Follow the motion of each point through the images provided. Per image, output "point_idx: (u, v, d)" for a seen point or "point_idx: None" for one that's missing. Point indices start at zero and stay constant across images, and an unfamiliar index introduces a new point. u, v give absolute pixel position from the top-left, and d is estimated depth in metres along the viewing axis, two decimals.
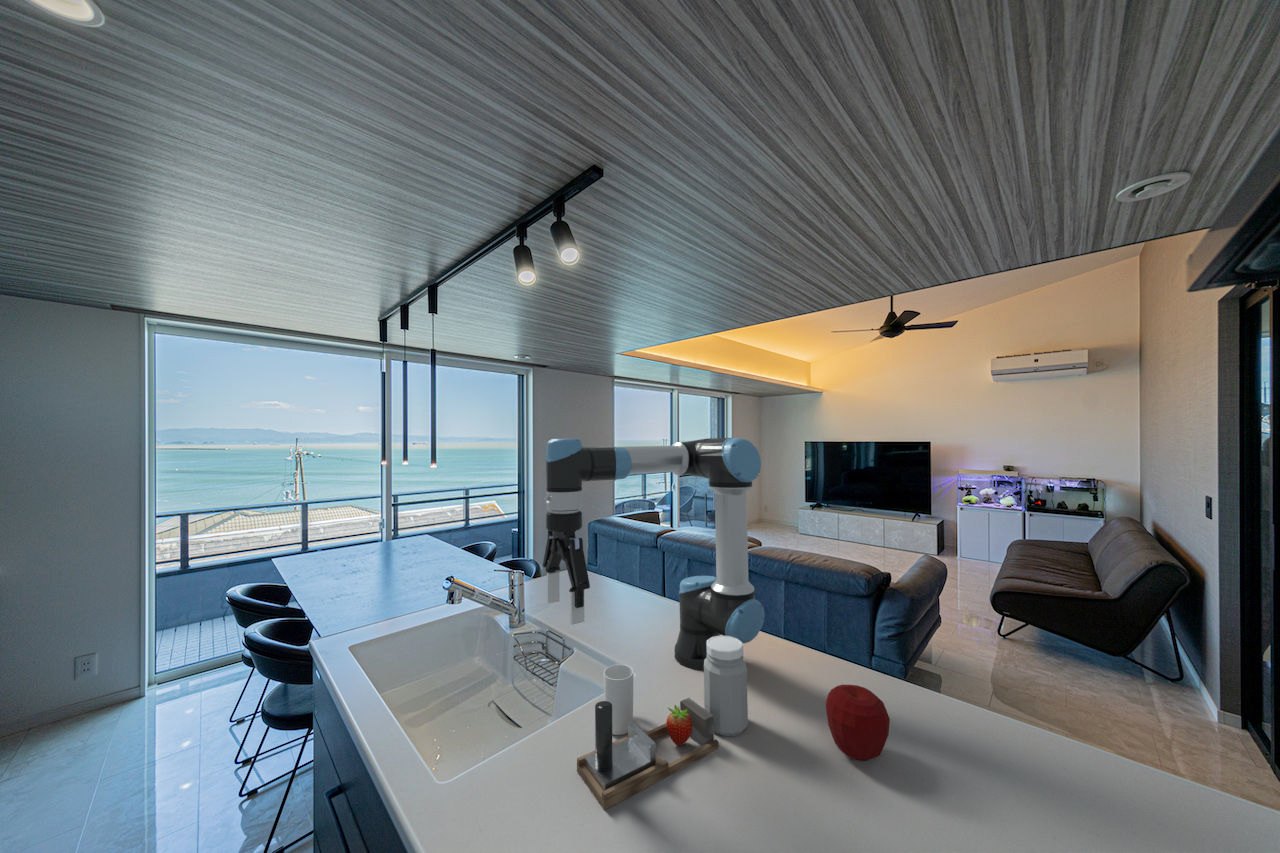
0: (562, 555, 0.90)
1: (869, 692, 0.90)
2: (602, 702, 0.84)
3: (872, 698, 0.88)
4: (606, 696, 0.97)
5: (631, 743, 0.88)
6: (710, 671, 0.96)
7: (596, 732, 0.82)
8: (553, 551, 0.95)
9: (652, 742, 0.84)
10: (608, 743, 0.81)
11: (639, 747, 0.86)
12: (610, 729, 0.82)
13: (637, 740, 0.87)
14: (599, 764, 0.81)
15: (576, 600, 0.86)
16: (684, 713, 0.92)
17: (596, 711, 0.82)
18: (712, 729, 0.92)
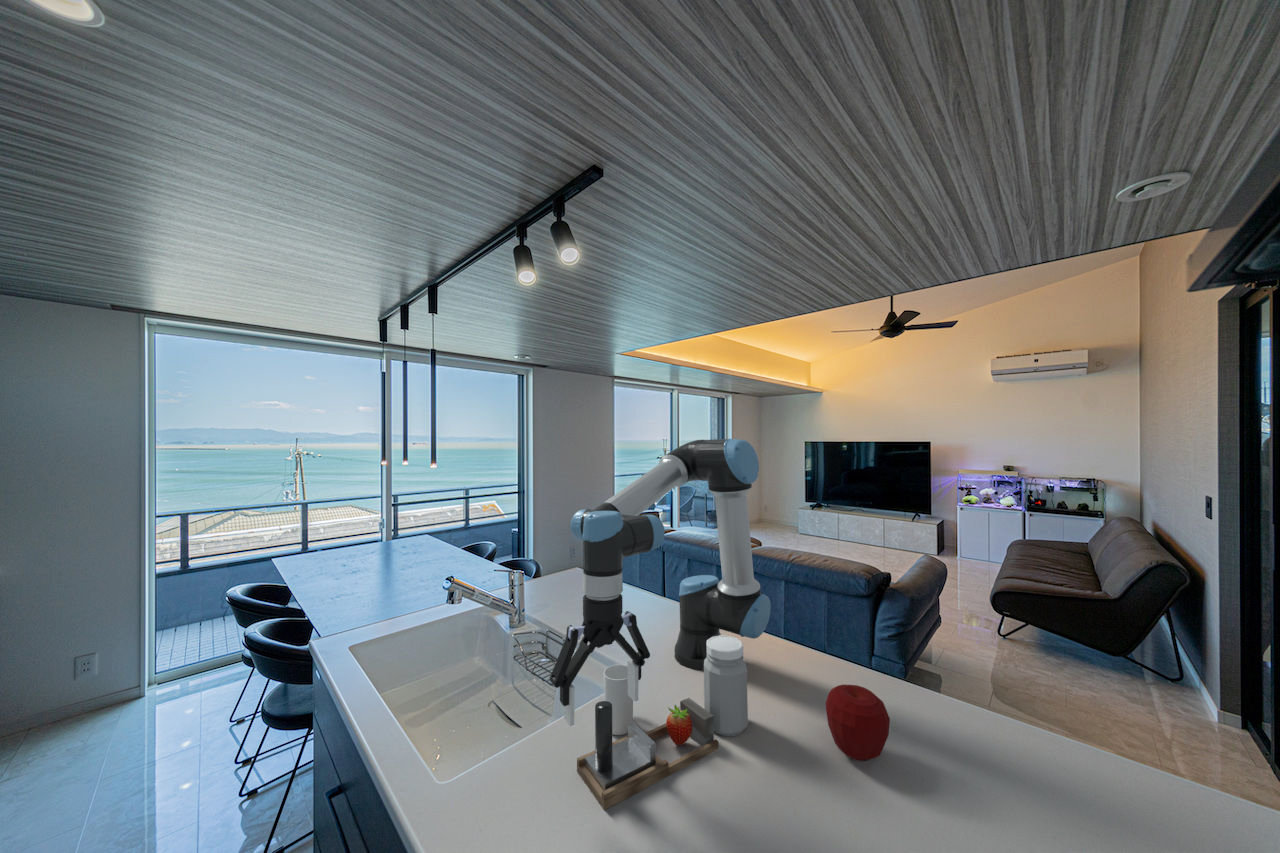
0: None
1: (869, 692, 0.90)
2: (602, 702, 0.84)
3: (872, 698, 0.88)
4: (606, 696, 0.97)
5: (631, 743, 0.88)
6: (710, 671, 0.96)
7: (596, 732, 0.82)
8: None
9: (652, 742, 0.84)
10: (608, 743, 0.81)
11: (639, 747, 0.86)
12: (610, 729, 0.82)
13: (637, 740, 0.87)
14: (599, 764, 0.81)
15: None
16: (684, 713, 0.92)
17: (596, 711, 0.82)
18: (712, 729, 0.92)
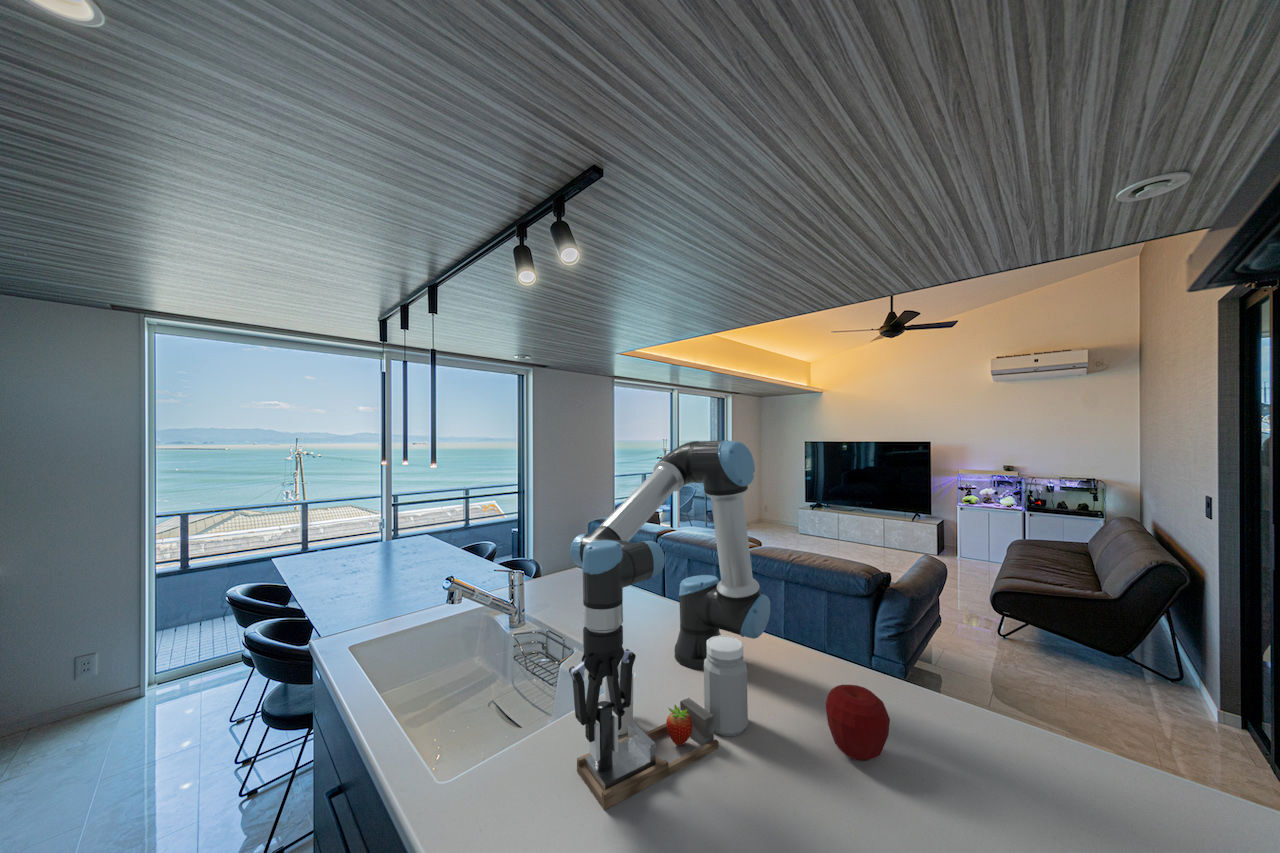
0: None
1: (869, 692, 0.90)
2: (602, 702, 0.84)
3: (872, 698, 0.88)
4: (606, 696, 0.97)
5: (631, 743, 0.88)
6: (710, 671, 0.96)
7: None
8: None
9: (652, 742, 0.84)
10: (608, 743, 0.81)
11: (639, 747, 0.86)
12: (610, 729, 0.82)
13: (637, 740, 0.87)
14: (599, 764, 0.81)
15: None
16: (684, 713, 0.92)
17: None
18: (712, 729, 0.92)
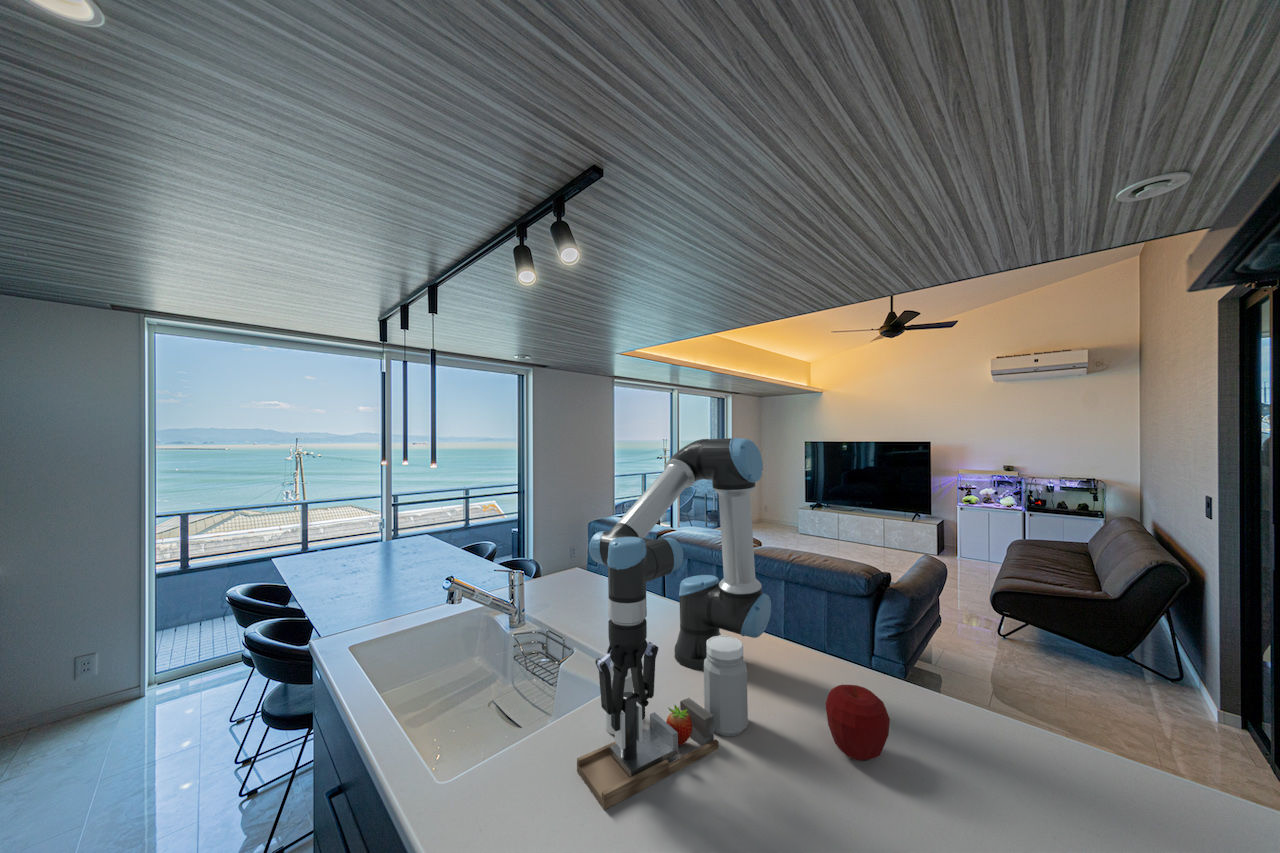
0: None
1: (869, 692, 0.90)
2: (626, 693, 0.87)
3: (872, 698, 0.88)
4: None
5: (653, 733, 0.91)
6: (710, 671, 0.96)
7: None
8: None
9: (674, 731, 0.87)
10: (633, 732, 0.84)
11: (661, 737, 0.89)
12: (635, 719, 0.85)
13: (659, 729, 0.90)
14: (624, 752, 0.84)
15: None
16: (684, 713, 0.92)
17: None
18: (712, 729, 0.92)
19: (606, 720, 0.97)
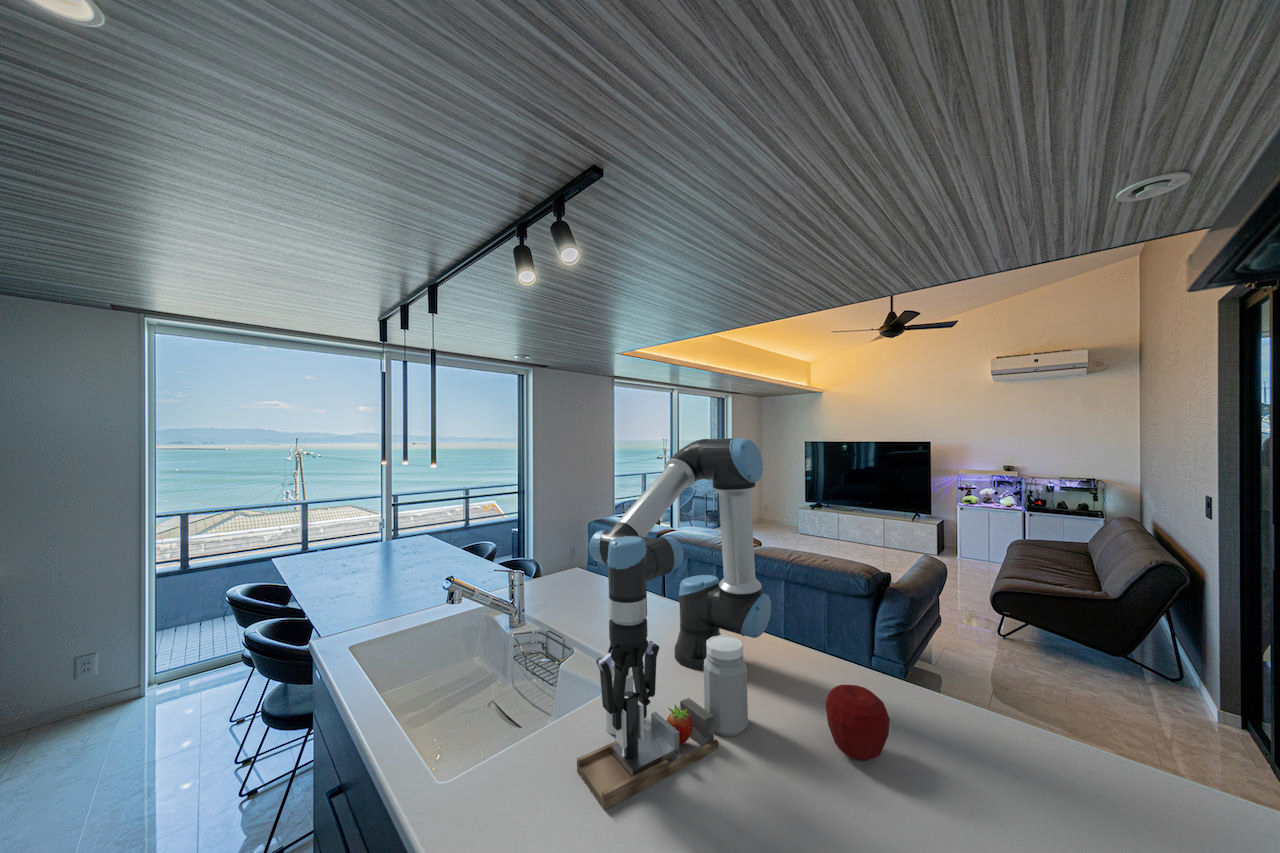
0: None
1: (869, 692, 0.90)
2: (628, 692, 0.87)
3: (872, 698, 0.88)
4: None
5: (654, 732, 0.92)
6: (710, 671, 0.96)
7: None
8: None
9: (676, 731, 0.87)
10: (634, 731, 0.84)
11: (663, 736, 0.90)
12: (636, 718, 0.85)
13: (661, 729, 0.90)
14: (626, 752, 0.84)
15: None
16: (684, 713, 0.92)
17: None
18: (712, 729, 0.92)
19: (606, 720, 0.97)
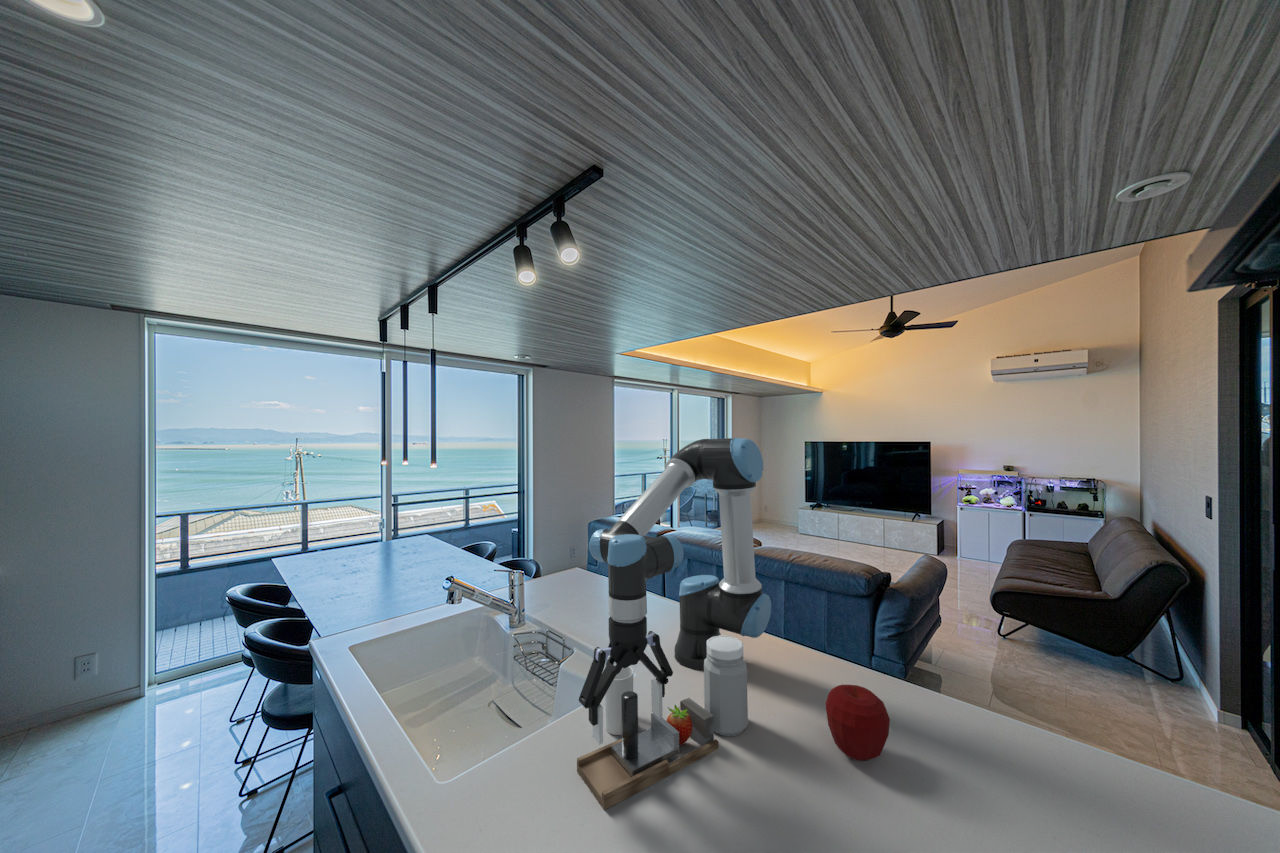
0: None
1: (869, 692, 0.90)
2: (628, 692, 0.87)
3: (872, 698, 0.88)
4: (606, 696, 0.97)
5: (654, 732, 0.92)
6: (710, 671, 0.96)
7: (622, 721, 0.85)
8: None
9: (676, 731, 0.87)
10: (634, 731, 0.84)
11: (663, 736, 0.90)
12: (636, 718, 0.85)
13: (661, 729, 0.90)
14: (626, 752, 0.84)
15: None
16: (684, 713, 0.92)
17: (622, 701, 0.85)
18: (712, 729, 0.92)
19: (606, 720, 0.97)
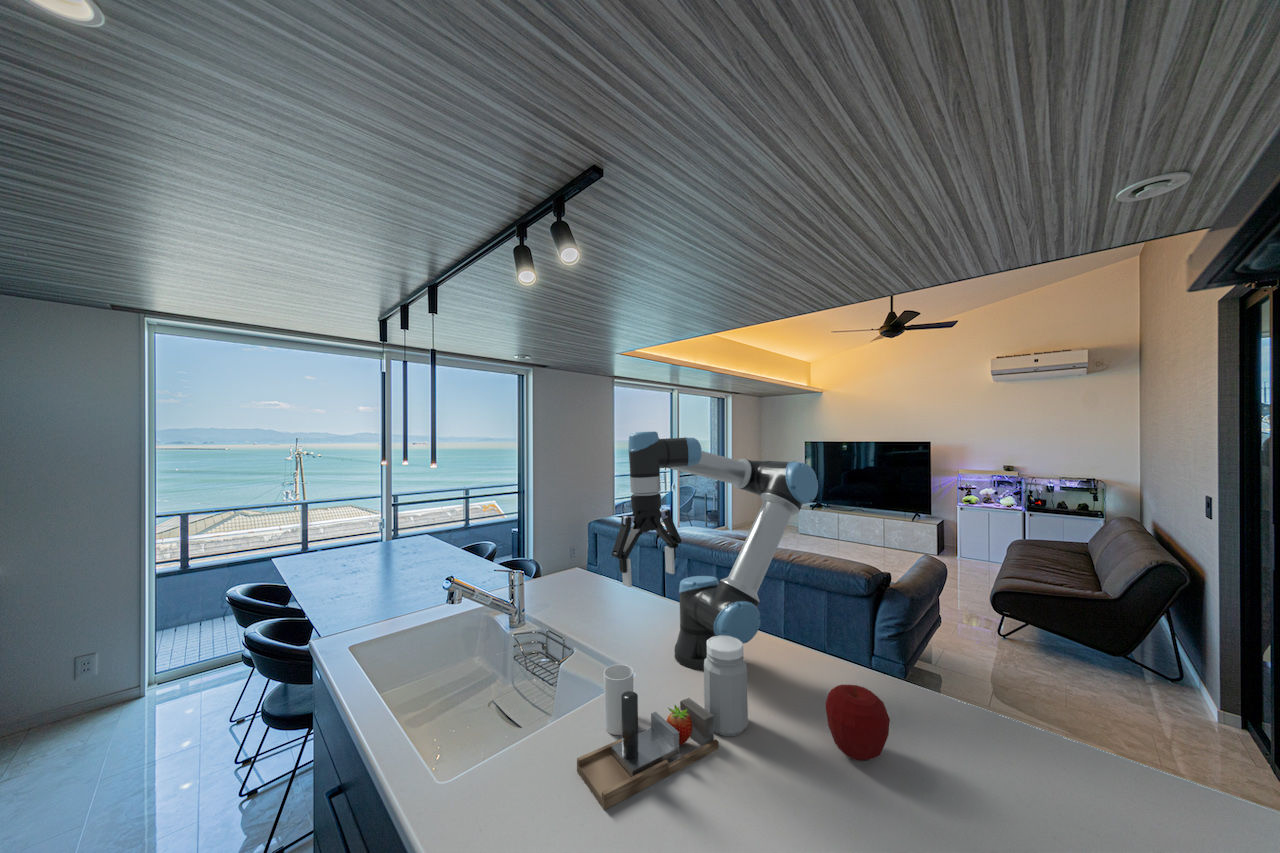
0: None
1: (869, 692, 0.90)
2: (628, 692, 0.87)
3: (872, 698, 0.88)
4: (606, 696, 0.97)
5: (654, 732, 0.92)
6: (710, 671, 0.96)
7: (622, 721, 0.85)
8: None
9: (676, 731, 0.87)
10: (634, 731, 0.84)
11: (663, 736, 0.90)
12: (636, 718, 0.85)
13: (661, 729, 0.90)
14: (626, 752, 0.84)
15: None
16: (684, 713, 0.92)
17: (622, 701, 0.85)
18: (712, 729, 0.92)
19: (606, 720, 0.97)
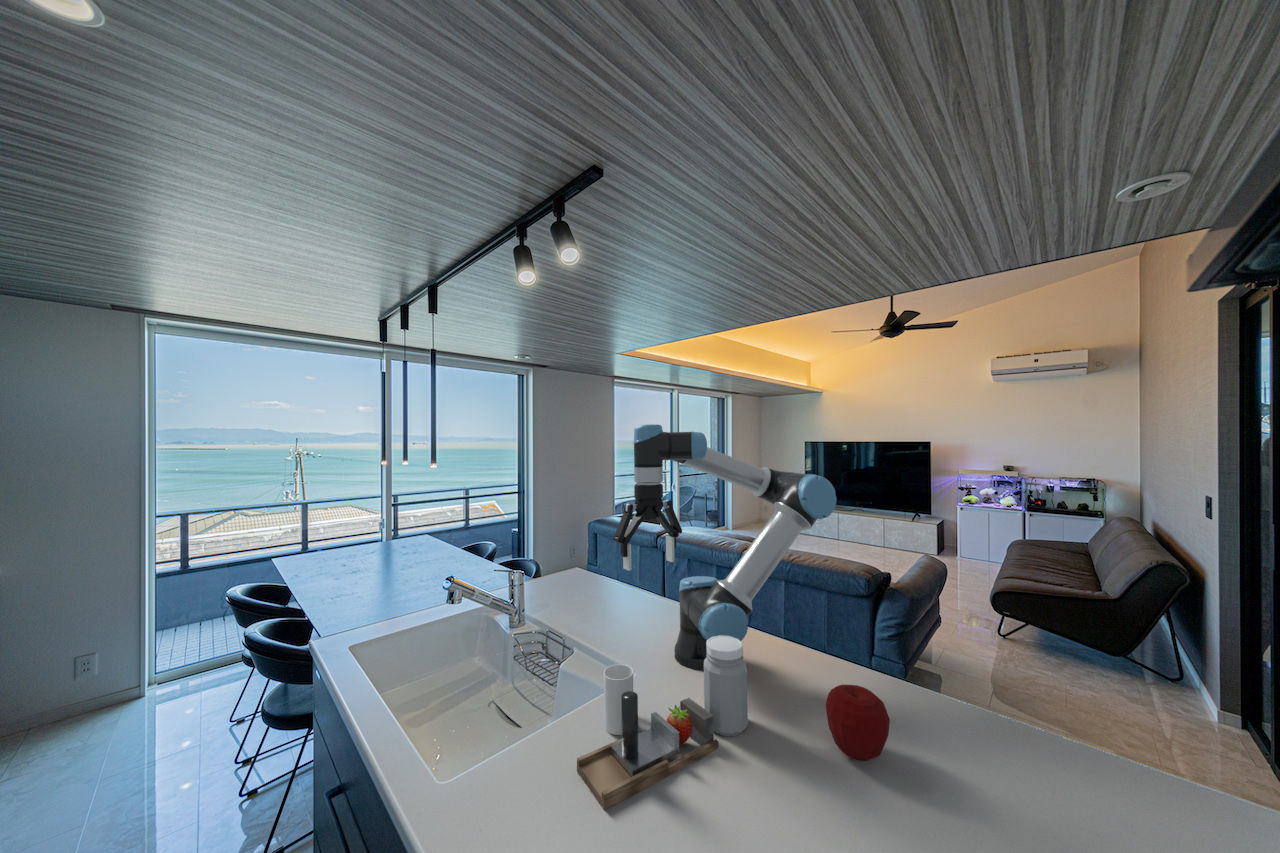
0: None
1: (869, 692, 0.90)
2: (628, 692, 0.87)
3: (872, 698, 0.88)
4: (606, 696, 0.97)
5: (654, 732, 0.92)
6: (710, 671, 0.96)
7: (622, 721, 0.85)
8: None
9: (676, 731, 0.87)
10: (634, 731, 0.84)
11: (663, 736, 0.90)
12: (636, 718, 0.85)
13: (661, 729, 0.90)
14: (626, 752, 0.84)
15: None
16: (684, 713, 0.92)
17: (622, 701, 0.85)
18: (712, 729, 0.92)
19: (606, 720, 0.97)
